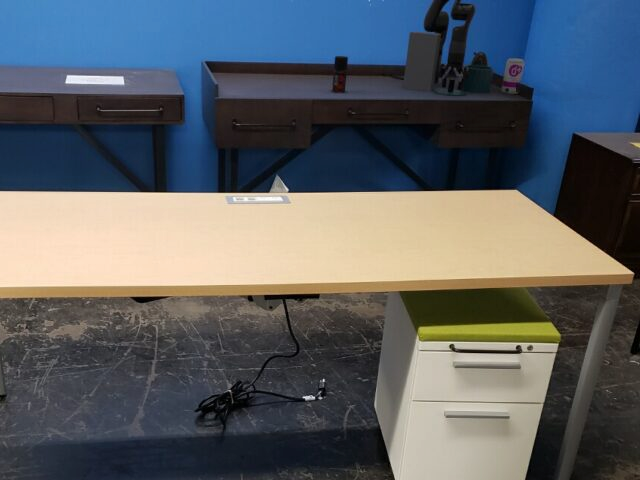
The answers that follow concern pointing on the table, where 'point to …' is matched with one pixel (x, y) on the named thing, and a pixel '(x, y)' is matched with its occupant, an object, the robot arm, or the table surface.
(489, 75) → the tin
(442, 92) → the tin lid
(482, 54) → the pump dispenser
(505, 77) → the supplement can
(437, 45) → the cassette tape recorder
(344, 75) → the deodorant
